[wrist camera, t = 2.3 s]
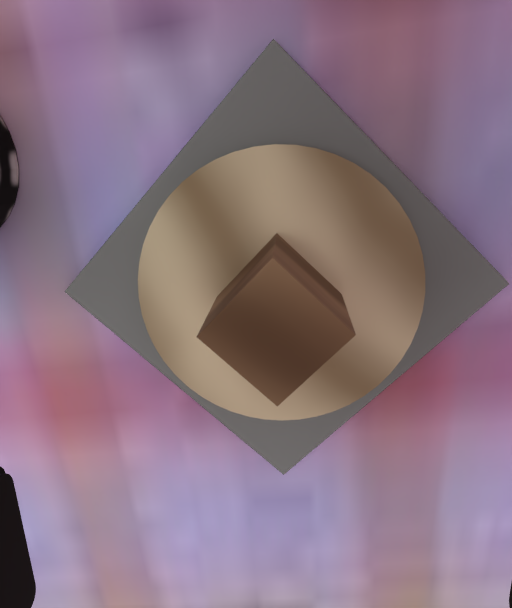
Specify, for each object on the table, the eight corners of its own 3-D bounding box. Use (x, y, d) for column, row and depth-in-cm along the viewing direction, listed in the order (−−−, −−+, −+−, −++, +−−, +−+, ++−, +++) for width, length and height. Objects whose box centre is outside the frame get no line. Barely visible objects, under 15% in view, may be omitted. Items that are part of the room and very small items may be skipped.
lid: (273, 76, 20) (265, 46, 14) (478, 283, 22) (546, 332, 16) (92, 291, 24) (26, 339, 18) (283, 452, 26) (281, 542, 20)
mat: (274, 41, 20) (273, 38, 20) (503, 280, 23) (509, 283, 22) (70, 288, 24) (64, 291, 24) (283, 467, 27) (283, 474, 26)
